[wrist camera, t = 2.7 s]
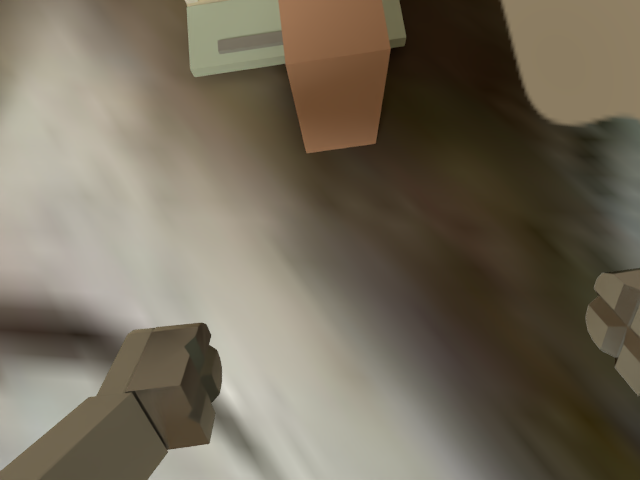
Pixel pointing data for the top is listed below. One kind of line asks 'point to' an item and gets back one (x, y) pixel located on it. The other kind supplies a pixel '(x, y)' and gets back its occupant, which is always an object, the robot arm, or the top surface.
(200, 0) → the tray
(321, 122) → the terracotta block
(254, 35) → the panel
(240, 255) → the top surface
